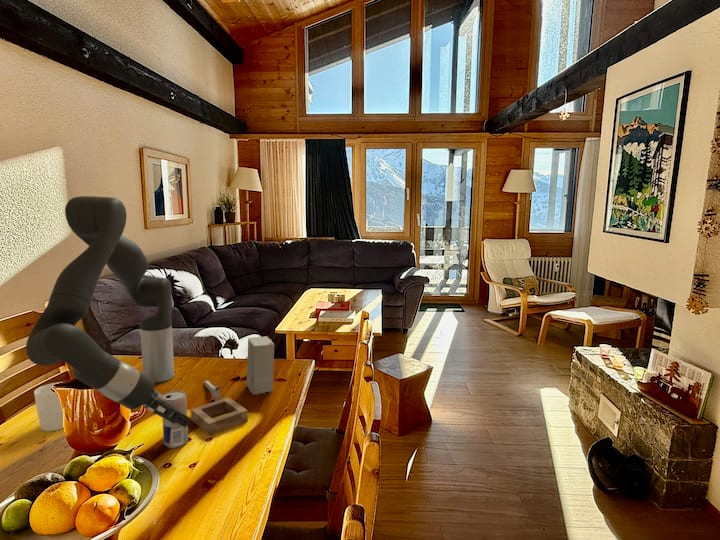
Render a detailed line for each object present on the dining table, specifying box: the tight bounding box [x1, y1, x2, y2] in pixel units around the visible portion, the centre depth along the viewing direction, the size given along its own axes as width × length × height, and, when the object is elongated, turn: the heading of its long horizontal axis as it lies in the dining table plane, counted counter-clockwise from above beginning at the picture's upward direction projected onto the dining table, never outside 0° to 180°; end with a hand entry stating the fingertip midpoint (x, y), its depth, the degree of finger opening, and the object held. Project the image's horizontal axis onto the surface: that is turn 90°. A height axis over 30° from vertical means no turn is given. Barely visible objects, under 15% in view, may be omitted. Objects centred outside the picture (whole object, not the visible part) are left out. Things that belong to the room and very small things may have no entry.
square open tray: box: [190, 397, 249, 436], centre depth 112 cm, size 11×11×3 cm
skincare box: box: [246, 335, 275, 396], centre depth 131 cm, size 8×7×16 cm
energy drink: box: [161, 390, 189, 449], centre depth 101 cm, size 5×5×12 cm
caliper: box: [204, 380, 222, 402], centre depth 127 cm, size 20×1×6 cm, turn 30°
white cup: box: [33, 381, 64, 432], centre depth 108 cm, size 8×8×10 cm
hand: (181, 417), depth 102 cm, fingers open, 7 cm apart
